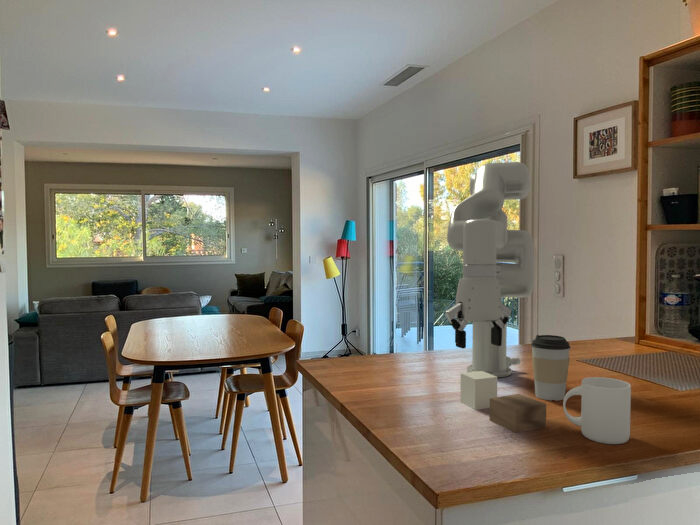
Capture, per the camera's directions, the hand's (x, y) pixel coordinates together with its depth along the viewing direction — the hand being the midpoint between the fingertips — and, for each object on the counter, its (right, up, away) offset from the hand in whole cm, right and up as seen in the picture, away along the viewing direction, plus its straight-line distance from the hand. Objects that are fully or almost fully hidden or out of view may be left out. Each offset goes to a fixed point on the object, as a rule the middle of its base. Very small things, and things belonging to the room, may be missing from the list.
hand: (478, 346), depth 123 cm
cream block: (0, -14, +1) cm, 14 cm away
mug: (+18, -15, -19) cm, 30 cm away
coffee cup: (+19, -14, +7) cm, 25 cm away
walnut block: (+5, -15, -12) cm, 20 cm away
